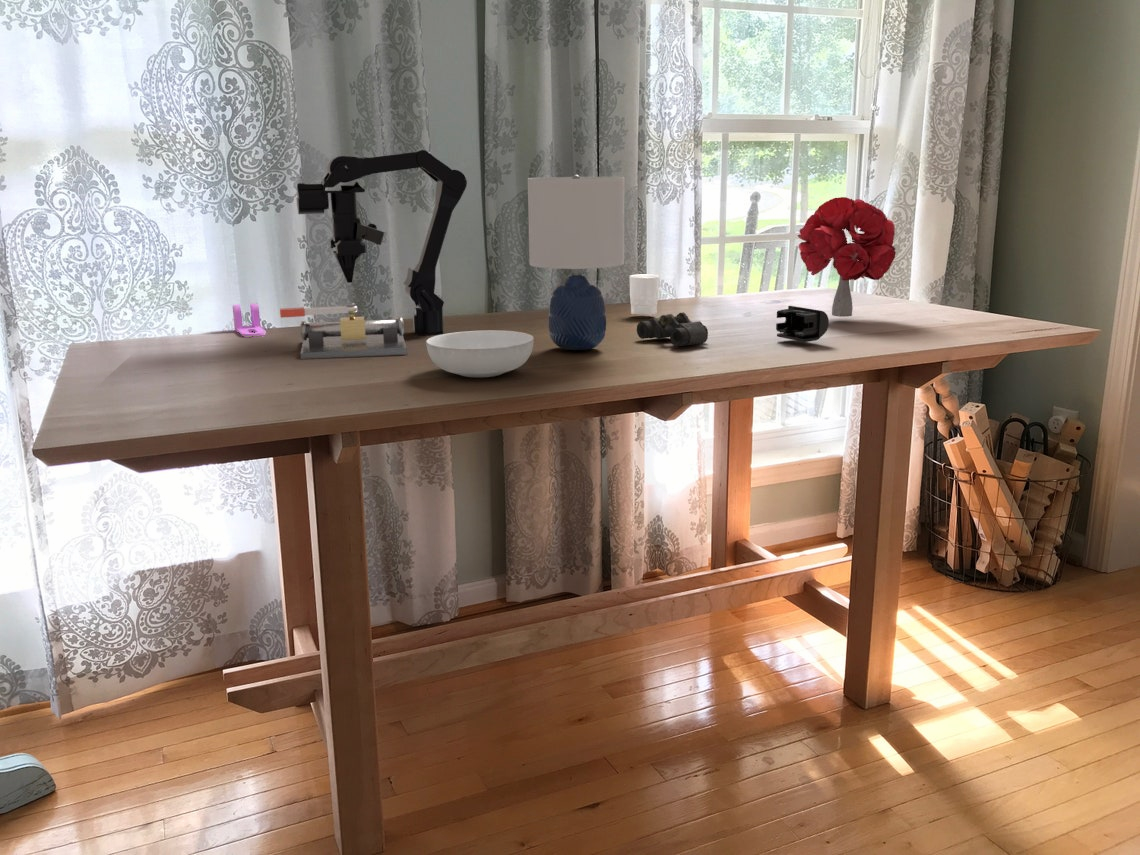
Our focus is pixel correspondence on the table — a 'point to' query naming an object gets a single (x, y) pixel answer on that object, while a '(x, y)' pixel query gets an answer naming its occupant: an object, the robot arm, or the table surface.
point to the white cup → (644, 293)
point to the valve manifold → (353, 338)
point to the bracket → (255, 321)
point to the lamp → (576, 249)
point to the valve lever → (317, 310)
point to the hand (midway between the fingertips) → (349, 282)
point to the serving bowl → (480, 352)
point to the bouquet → (848, 245)
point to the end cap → (802, 324)
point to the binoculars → (674, 329)
